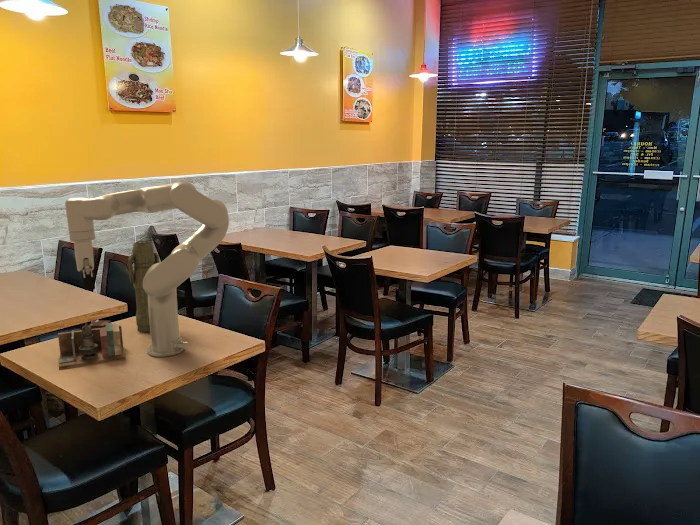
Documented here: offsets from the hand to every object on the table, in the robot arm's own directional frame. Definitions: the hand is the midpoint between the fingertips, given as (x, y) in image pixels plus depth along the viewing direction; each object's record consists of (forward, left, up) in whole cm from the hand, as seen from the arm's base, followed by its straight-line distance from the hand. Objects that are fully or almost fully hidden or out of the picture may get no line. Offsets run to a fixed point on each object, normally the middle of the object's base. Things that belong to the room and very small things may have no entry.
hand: (89, 285), depth 181 cm
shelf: (0, +1, -25) cm, 25 cm away
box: (+8, -12, -25) cm, 29 cm away
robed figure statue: (0, -29, -25) cm, 38 cm away
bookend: (+6, +6, -24) cm, 26 cm away
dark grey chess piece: (0, +3, -24) cm, 24 cm away
